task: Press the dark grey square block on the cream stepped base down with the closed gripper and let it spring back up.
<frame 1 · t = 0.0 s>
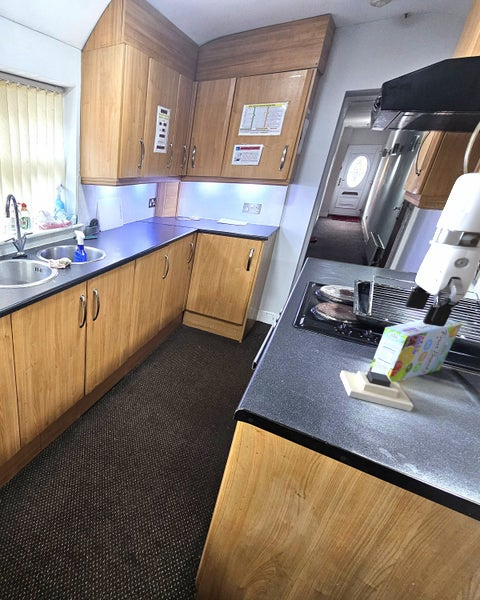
hand: (422, 316, 72), 23 cm above the worktop, tool pointing down, fingers open, 9 cm apart
dark grey square block: (378, 379, 82), point 4 cm above the worktop, slide at 0.1 cm
snack box: (402, 372, 92), on the worktop
cream stepped base: (372, 392, 84), on the worktop
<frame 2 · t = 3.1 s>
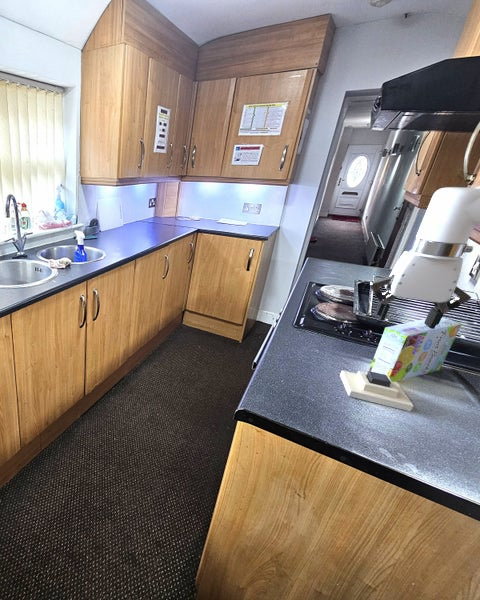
hand: (403, 321, 76), 20 cm above the worktop, tool pointing down, fingers open, 8 cm apart
nothing on the worktop moved.
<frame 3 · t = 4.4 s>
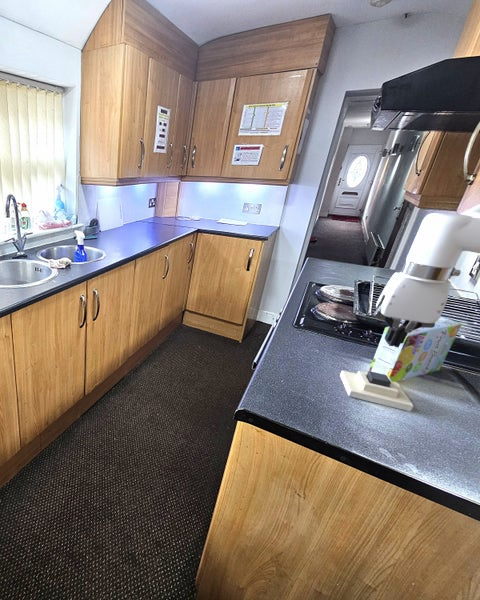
hand: (391, 344, 78), 14 cm above the worktop, tool pointing down, fingers closed
nothing on the worktop moved.
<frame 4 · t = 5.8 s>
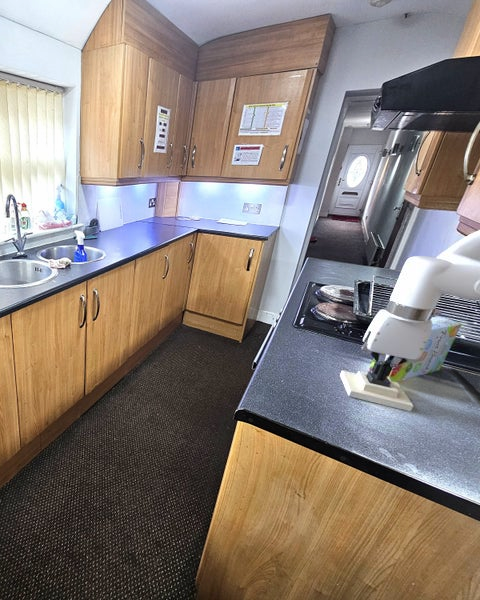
hand: (378, 376, 82), 5 cm above the worktop, tool pointing down, fingers closed
dark grey square block: (377, 380, 82), point 4 cm above the worktop, slide at -0.1 cm, touching gripper
everything else where it was.
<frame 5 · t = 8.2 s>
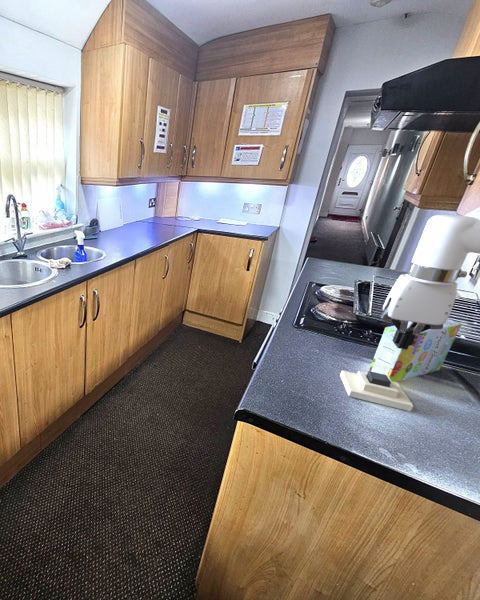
hand: (400, 346, 78), 14 cm above the worktop, tool pointing down, fingers closed
dark grey square block: (378, 379, 82), point 4 cm above the worktop, slide at 0.1 cm
everything else where it was.
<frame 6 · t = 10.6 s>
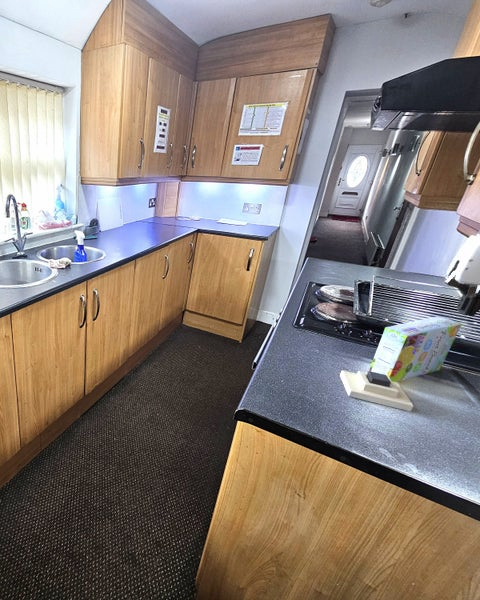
hand: (465, 313, 74), 23 cm above the worktop, tool pointing down, fingers closed
nothing on the worktop moved.
at the end: dark grey square block pushed in 1.1 cm at the most during the clip, back to where it started at the end; dark grey square block slide at 0.1 cm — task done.
